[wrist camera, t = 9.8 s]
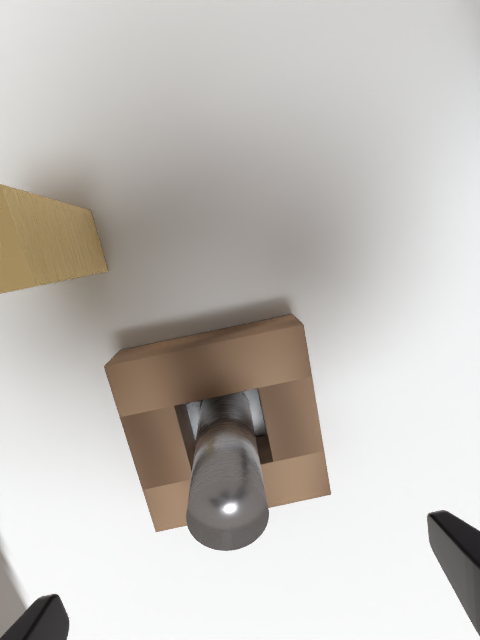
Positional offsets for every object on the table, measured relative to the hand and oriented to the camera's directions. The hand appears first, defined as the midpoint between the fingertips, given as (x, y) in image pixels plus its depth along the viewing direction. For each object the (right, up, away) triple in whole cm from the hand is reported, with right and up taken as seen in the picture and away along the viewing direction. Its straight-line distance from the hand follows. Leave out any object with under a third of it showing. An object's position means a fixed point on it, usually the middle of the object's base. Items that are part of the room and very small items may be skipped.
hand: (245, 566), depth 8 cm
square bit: (-9, +10, +9) cm, 16 cm away
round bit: (-1, 0, +12) cm, 12 cm away
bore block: (-1, 0, +12) cm, 12 cm away
